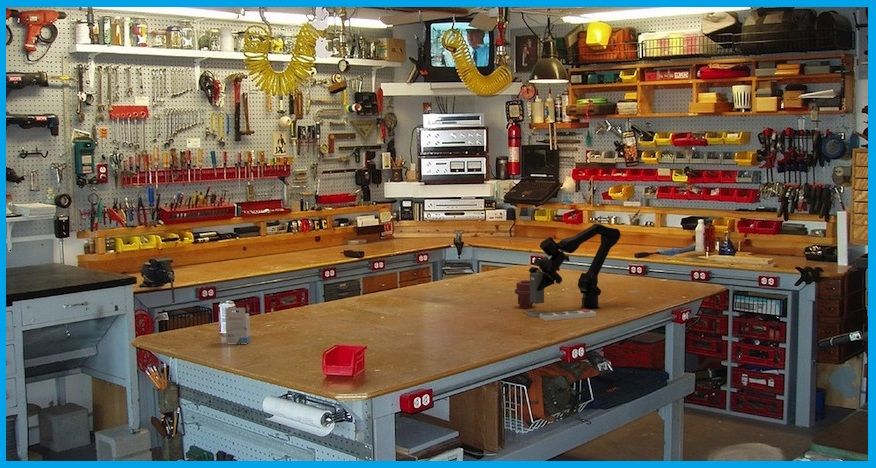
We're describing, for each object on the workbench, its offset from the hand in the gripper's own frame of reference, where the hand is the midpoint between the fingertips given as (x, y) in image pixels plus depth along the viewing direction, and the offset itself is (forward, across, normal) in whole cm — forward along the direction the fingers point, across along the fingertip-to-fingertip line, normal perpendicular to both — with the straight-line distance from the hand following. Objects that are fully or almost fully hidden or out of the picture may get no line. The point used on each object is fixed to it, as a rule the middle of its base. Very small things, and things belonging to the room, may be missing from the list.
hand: (534, 289), depth 454 cm
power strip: (+2, +13, +14) cm, 19 cm away
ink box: (+100, -17, -85) cm, 132 cm away
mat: (+7, 0, +9) cm, 11 cm away
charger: (+3, 0, +5) cm, 6 cm away
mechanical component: (+3, -17, +13) cm, 22 cm away
